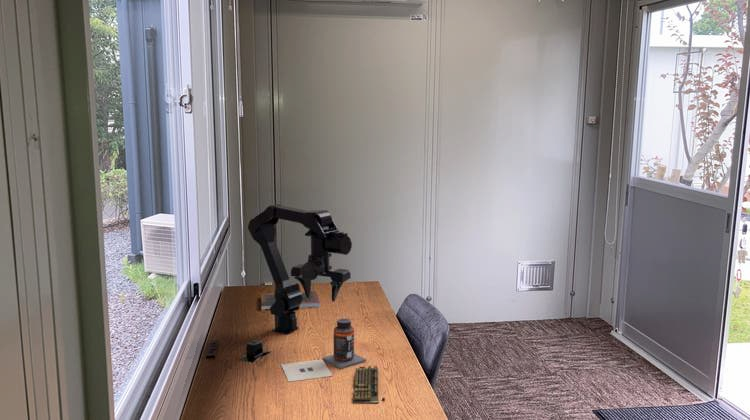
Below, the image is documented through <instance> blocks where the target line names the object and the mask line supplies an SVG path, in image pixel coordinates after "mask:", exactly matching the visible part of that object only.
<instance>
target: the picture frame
mask: <svg viewBox="0 0 750 420" xmlns="http://www.w3.org/2000/svg"><path fill="white" fill-rule="evenodd" d="M301 292H302V302H301V304H300V307H299V309H307V308H309V307H312V308H321V300H320V297H319V294H318V292H317V290H311V292H310V297H309V298H307V297H306V294H305V291H304V290H303V291H301ZM260 294H261V295H260V296H261V297H260V299H261V300H260V301H261V306H260V307H261V311H264V310H263V309H270V307H271V306H272V305H273V304H274V303H275V302H276V300H275V296H274V294H275V292H274V293H273V292H270V293H269V292H268V293H260Z"/></svg>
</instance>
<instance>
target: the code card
mask: <svg viewBox="0 0 750 420" xmlns="http://www.w3.org/2000/svg"><path fill="white" fill-rule="evenodd" d="M281 368H282V370H283V372H284V374H285V377H286V379H287V381H288V383H291V382H299V381H305V380H314V379H322V378H323V379H324V378H328V377H333V374H332V372H331V371H330V368H328V365H327V364H326V362H325V360H323V358H321V359H315V360H307V361H306V360H305V361H300V362H299V361H298V362H290V363H289V362H288V363H283V364H282V363H281Z"/></svg>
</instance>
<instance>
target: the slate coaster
mask: <svg viewBox="0 0 750 420" xmlns="http://www.w3.org/2000/svg"><path fill="white" fill-rule="evenodd" d="M322 359H323V361H324V362H326V363H329V364H330V365H332V366H334V367H337V368H338V369H340V370H342V369H345V368H349V367H353V366H355V365H358V364H362V363H365V362H367V359H366V358H365V357H363V356H361V355H359V354H357V353H354V358H353V359H352V360H349V361H338V360H336V359H335V358H334V353H333V354H330V355H327V356H323V357H322Z"/></svg>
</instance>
